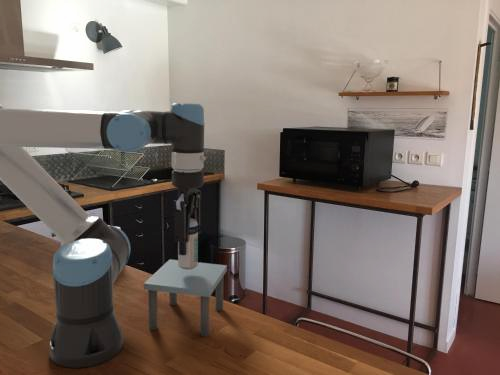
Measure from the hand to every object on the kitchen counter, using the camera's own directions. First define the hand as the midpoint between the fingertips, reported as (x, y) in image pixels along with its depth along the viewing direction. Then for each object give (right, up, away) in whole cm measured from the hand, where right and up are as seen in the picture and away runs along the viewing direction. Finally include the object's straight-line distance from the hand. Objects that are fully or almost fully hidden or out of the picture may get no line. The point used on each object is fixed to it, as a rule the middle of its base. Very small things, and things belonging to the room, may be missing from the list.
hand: (187, 262), depth 106 cm
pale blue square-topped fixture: (0, -15, +3) cm, 15 cm away
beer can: (0, -1, 0) cm, 1 cm away
